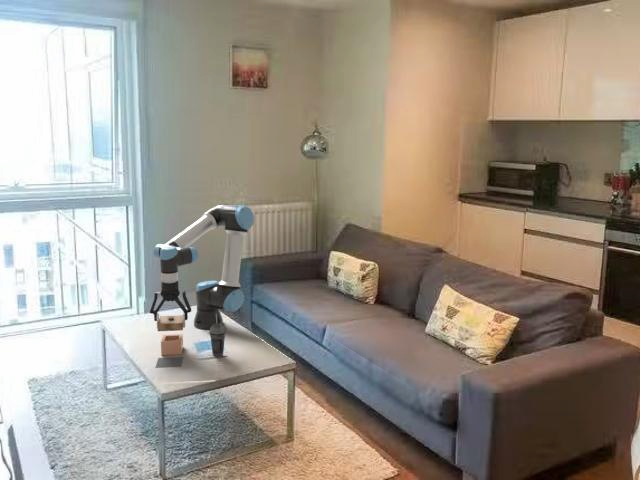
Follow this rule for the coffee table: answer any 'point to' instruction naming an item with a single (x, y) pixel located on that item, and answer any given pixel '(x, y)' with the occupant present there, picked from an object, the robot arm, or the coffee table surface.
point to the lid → (170, 323)
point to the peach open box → (172, 344)
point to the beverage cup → (217, 339)
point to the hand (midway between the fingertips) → (171, 327)
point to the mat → (169, 362)
